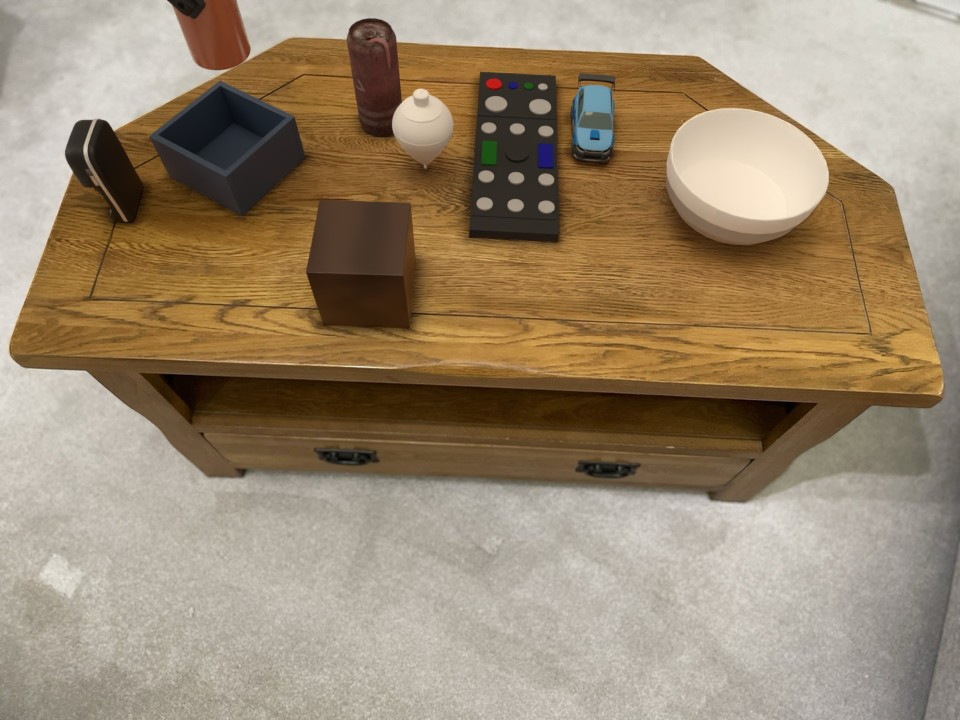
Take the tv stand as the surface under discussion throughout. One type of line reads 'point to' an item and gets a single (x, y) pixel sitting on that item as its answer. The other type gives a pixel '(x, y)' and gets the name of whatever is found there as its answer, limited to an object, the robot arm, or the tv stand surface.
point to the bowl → (744, 175)
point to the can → (375, 74)
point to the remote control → (515, 159)
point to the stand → (363, 263)
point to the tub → (229, 146)
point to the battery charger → (104, 167)
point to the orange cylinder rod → (216, 35)
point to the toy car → (593, 120)
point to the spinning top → (422, 126)
